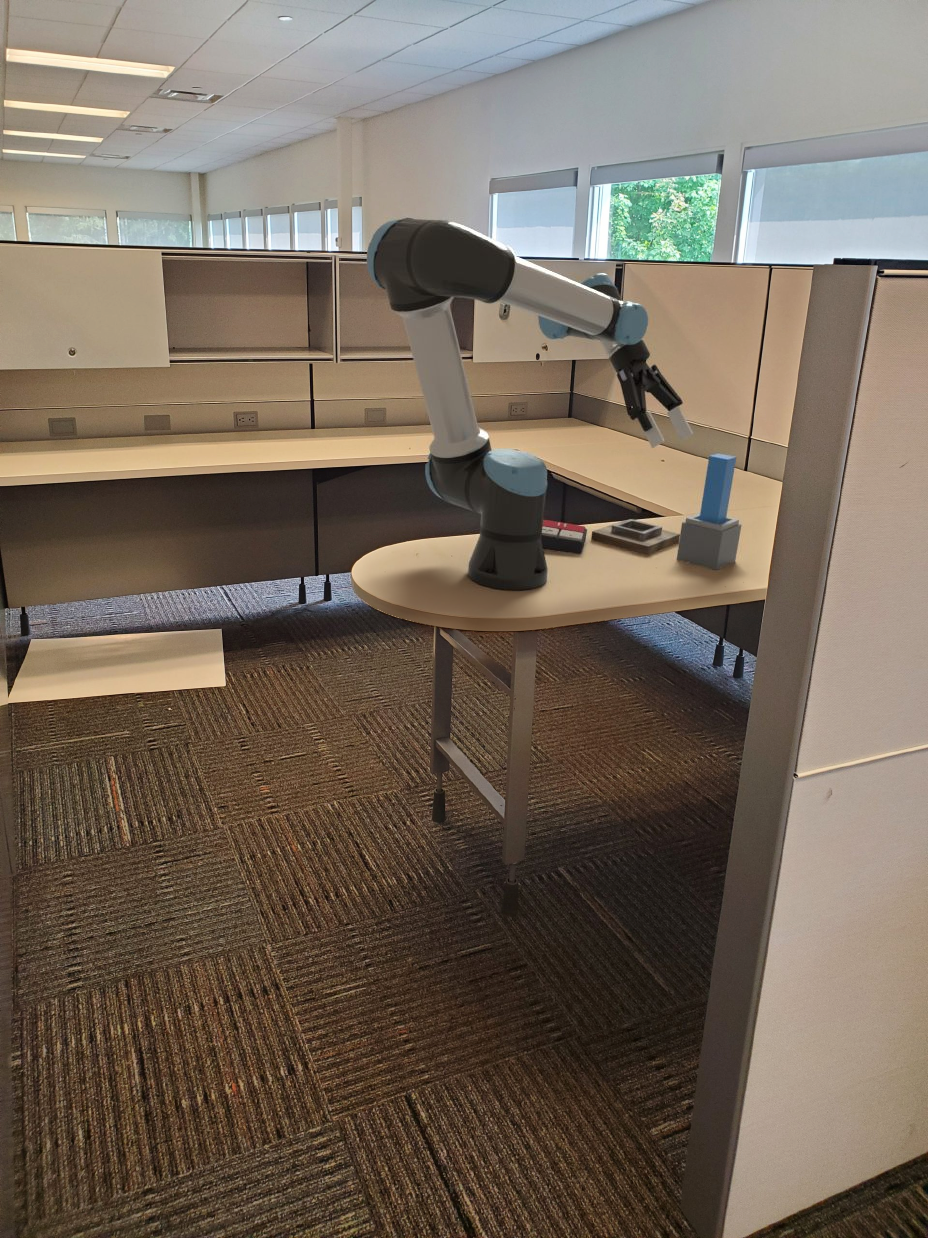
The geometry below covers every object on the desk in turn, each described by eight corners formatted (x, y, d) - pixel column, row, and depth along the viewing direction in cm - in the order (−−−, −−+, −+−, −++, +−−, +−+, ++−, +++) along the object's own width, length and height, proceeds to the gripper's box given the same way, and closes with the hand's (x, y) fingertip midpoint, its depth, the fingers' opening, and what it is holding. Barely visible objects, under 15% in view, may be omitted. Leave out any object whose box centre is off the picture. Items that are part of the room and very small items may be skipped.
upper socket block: (716, 570, 191) (723, 527, 187) (676, 559, 196) (682, 517, 193) (735, 561, 197) (742, 519, 194) (696, 550, 202) (702, 510, 199)
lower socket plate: (647, 555, 197) (649, 539, 196) (591, 540, 205) (592, 524, 204) (678, 542, 207) (681, 527, 206) (624, 528, 215) (626, 513, 214)
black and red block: (583, 539, 194) (512, 527, 197) (580, 558, 196) (510, 546, 198) (588, 525, 204) (520, 514, 207) (584, 543, 206) (518, 532, 208)
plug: (716, 527, 191) (727, 459, 186) (698, 523, 193) (709, 455, 188) (725, 523, 194) (736, 456, 189) (707, 519, 196) (718, 453, 191)
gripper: (610, 339, 178) (661, 437, 177) (666, 335, 197) (713, 425, 196) (580, 360, 183) (630, 457, 181) (638, 355, 202) (683, 442, 200)
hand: (673, 440), depth 189 cm, fingers open, 13 cm apart
